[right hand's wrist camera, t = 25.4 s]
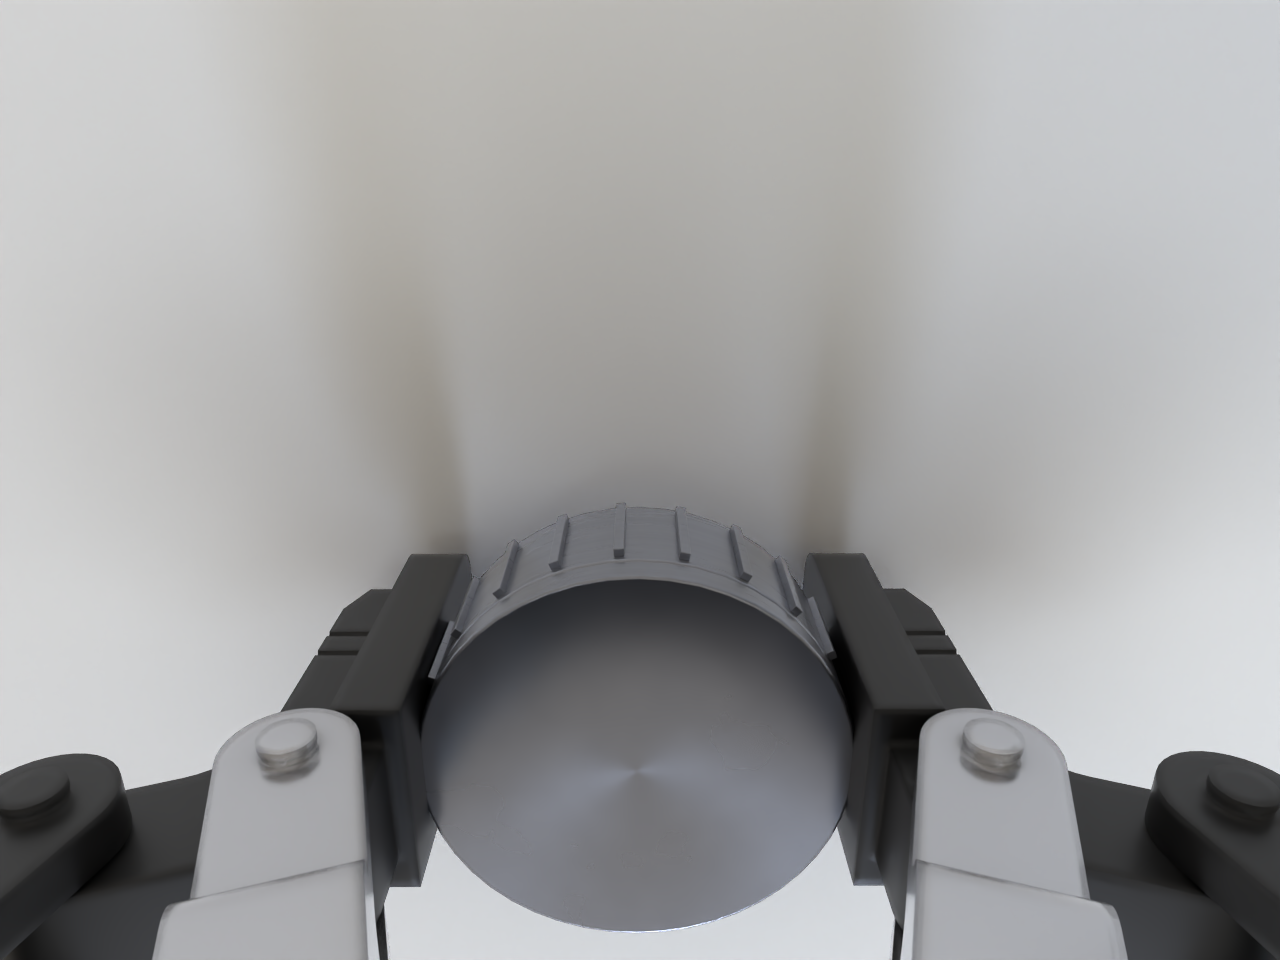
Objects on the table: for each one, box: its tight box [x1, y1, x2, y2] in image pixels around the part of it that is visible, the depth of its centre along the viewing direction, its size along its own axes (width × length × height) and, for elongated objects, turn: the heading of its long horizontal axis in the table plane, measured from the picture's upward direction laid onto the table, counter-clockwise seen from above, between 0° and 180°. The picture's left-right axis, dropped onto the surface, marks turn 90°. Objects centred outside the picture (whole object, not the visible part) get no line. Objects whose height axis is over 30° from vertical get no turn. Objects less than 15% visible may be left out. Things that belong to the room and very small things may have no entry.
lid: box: [420, 503, 854, 933], centre depth 10 cm, size 5×5×2 cm
